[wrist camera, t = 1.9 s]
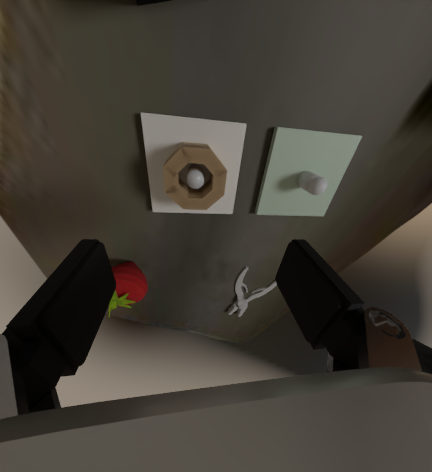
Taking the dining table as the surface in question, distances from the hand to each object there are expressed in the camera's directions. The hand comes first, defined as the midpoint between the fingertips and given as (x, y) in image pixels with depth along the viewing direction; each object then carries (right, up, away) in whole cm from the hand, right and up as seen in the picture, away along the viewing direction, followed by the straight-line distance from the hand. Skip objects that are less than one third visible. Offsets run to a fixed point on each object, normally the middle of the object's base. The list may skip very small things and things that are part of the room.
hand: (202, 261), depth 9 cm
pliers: (+8, -12, +32) cm, 35 cm away
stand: (-2, +10, +15) cm, 18 cm away
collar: (-2, +10, +14) cm, 17 cm away
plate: (+14, +10, +17) cm, 24 cm away
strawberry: (-15, -4, +23) cm, 27 cm away
